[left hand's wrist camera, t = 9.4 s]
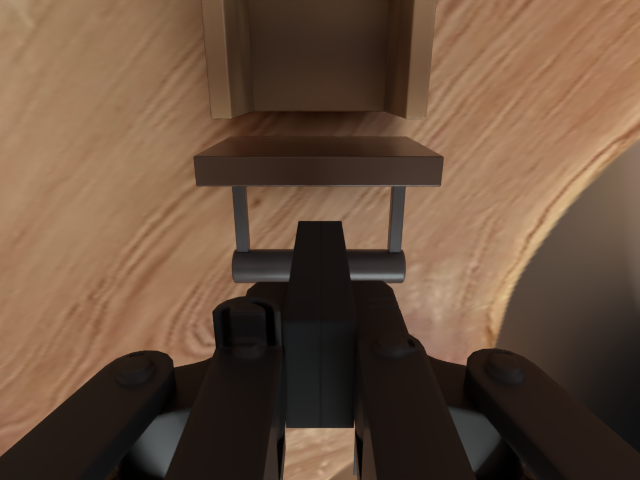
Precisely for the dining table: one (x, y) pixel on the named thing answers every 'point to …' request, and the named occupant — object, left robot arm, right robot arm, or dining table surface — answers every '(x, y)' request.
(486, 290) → the dining table surface
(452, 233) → the dining table surface
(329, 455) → the dining table surface
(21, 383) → the dining table surface
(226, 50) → the drawer
